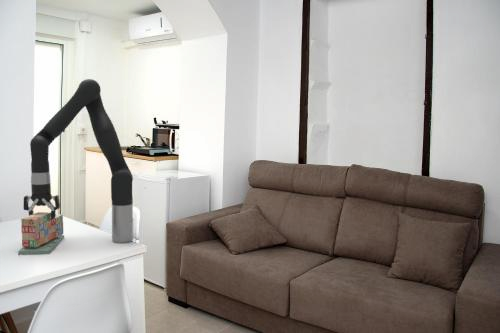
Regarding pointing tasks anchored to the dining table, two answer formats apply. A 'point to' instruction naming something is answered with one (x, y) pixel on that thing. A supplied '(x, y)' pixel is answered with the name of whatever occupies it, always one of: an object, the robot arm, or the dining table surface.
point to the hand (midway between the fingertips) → (42, 219)
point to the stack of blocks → (40, 228)
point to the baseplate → (42, 247)
